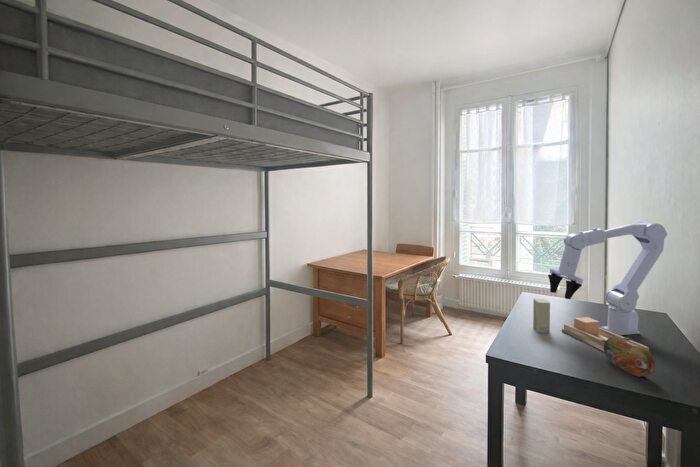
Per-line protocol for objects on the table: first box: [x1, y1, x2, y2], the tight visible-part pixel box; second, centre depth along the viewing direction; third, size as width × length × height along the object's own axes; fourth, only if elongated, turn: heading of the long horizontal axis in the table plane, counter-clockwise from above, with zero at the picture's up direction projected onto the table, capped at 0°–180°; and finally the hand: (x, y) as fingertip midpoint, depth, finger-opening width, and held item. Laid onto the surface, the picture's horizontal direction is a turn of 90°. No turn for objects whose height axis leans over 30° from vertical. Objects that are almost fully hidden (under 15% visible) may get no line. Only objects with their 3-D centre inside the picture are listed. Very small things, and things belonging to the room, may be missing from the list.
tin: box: [603, 338, 656, 378], centre depth 103 cm, size 15×3×8 cm, turn 5°
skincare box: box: [532, 298, 551, 334], centre depth 135 cm, size 6×4×12 cm
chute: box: [561, 323, 652, 355], centre depth 122 cm, size 12×24×3 cm, turn 10°
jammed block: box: [573, 316, 600, 335], centre depth 129 cm, size 6×5×5 cm
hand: (560, 295), depth 136 cm, fingers open, 7 cm apart
